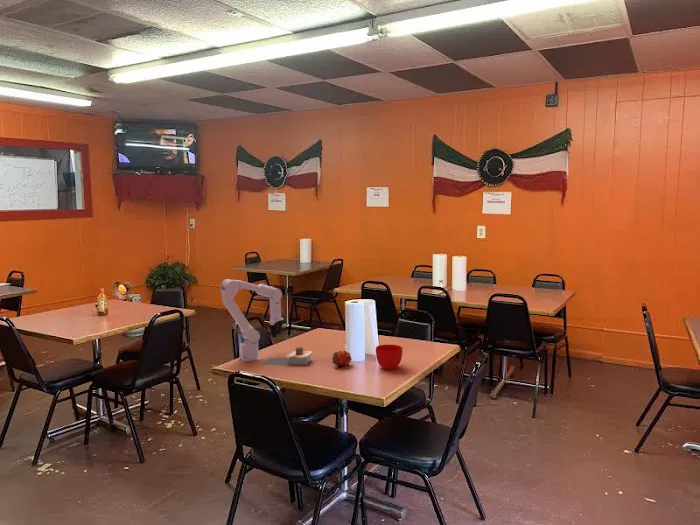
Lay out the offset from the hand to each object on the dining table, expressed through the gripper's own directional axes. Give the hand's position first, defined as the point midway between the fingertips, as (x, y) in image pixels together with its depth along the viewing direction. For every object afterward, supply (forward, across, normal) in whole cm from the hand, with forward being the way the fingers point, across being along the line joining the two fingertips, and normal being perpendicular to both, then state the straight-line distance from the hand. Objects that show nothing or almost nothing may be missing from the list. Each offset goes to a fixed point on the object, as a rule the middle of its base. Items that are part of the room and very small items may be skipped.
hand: (276, 335), depth 290 cm
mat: (+10, -15, -4) cm, 19 cm away
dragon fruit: (+11, -17, -38) cm, 43 cm away
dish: (+10, -15, -16) cm, 24 cm away
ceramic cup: (+11, -17, -62) cm, 65 cm away
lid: (+6, -15, -16) cm, 23 cm away
